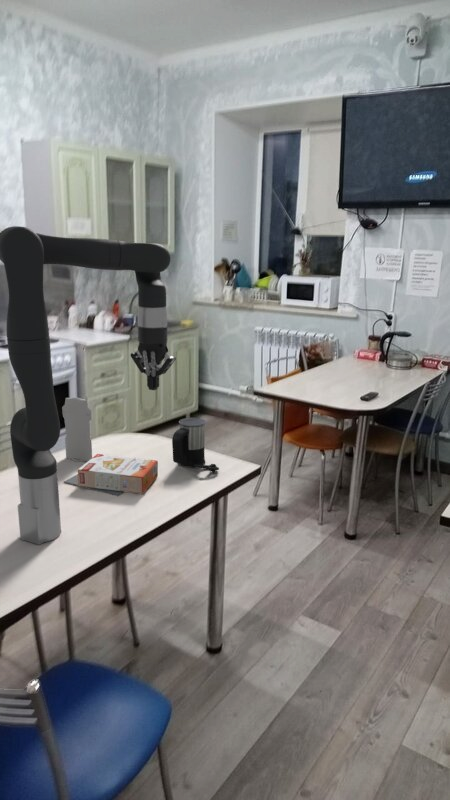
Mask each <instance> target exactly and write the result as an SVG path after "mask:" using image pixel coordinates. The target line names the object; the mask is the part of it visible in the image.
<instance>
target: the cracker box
mask: <svg viewBox="0 0 450 800" xmlns="http://www.w3.org/2000/svg"><path fill="white" fill-rule="evenodd" d="M158 462H159V460H157V459H146V458H136V457H130V456H121V455H120V456H119V455H110V454H103V453H102V454H101V453H96V454H95V455H94V456H92V459H90V460H89V461H88V462H86V463H85V462H84V464H83V465H81V466H80V467H78V469H77V474H78V486H77V487H79V486H83V487H90V488H99V489H107V490H115V491H123V493H125V492H126V493H133V494H141V495H143V494H144V493H145V492H146V490H148V489H149V487H150V486H151V485H152V484H153V483H154V481H156V479H157V478H158V477H159V473H158V470H159V469H158V467H159V466H158V465H159V463H158ZM83 487H82V488H83Z"/></svg>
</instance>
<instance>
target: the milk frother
mask: <svg viewBox="0 0 450 800" xmlns="http://www.w3.org/2000/svg"><path fill="white" fill-rule="evenodd" d="M178 423H179V429H177V430H175V432H174V433H173V435H172V437H171V438H172V440H171V445H172V446H171V448H172V461H173V463H176V464H178V465H180V466H181V467H182V466H183V467H186V468H199V469H204V470H208V471H209V472H211V471H212V473H215V472H216V471H219V470H220V468H219V467H218V466H217V464H215V463H211V464H209V465H207V464H206V459H205V445H206V444H205V442H206V441H205V440H206V438H205V437H206V436H205V435H206V434H205V433H206V424H207V421H206V420H205V419H203V418H198V417H186V418H181V419H180V420H179V421H178Z"/></svg>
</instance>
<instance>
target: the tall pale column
mask: <svg viewBox="0 0 450 800" xmlns="http://www.w3.org/2000/svg"><path fill="white" fill-rule="evenodd" d="M61 409H62V417H63V418H64V425H65V426H64V427H65V428H64V429H65V430H64V431H65V437H64V443H65V444H64V445H65V459H66V460H69V459H70V460H69V461H73V462H77V463H78V462H79V463H80V462H84V463H85V462H86V463H87V462H88V461H89V460H90V459H92V458H93V448H92V447H93V445H92V444H93V443H92V438H91V421H92V409H91V408H90V407H89V405H88V400H87V399H83V398H80V397H65V401H64V404H63V406H62V407H61Z"/></svg>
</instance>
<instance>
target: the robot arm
mask: <svg viewBox="0 0 450 800" xmlns="http://www.w3.org/2000/svg"><path fill="white" fill-rule="evenodd" d="M0 261H1V263H3V266H4V271H5V275H6V282H7V289H8V306H7V315H6V341H7V343H6V344H7V350H8V357H9V361H10V364H11V367H12V369H13V372H14V375H15V377H16V379H17V381H18V383H19V386H20V388H21V390H22V394H23V398H24V403H25V407H22V408H20V409H18V411H17V412H15V413H14V415H13V417H12V419H11V421H10V428H9V429H10V430H9V431H10V432H9V434H10V441H11V442H10V443H11V449H12V456H13V462H14V464H15V466H16V470H17V475H18V488H19V489H18V491H19V501H20V503H19V504H18V505H17V512H18V513H17V514H18V516H17V517H18V524H19V536H20V537H19V538H20V540H22V541H25V542H29V543H32V544H36V545H41V544H43V543H46V542H51V541H53V540H55V539H57V538H58V537H60V535H61V534H62V525H61V524H62V523H61V511H60V510H61V509H60V494H59V492H60V491H59V478H58V464H57V462H58V461H57V460H56V458H55V456H54V455H53V453H52V452H51V449H53V448H54V447H55V446H56V444H57V443H58V441H59V438H60V437H61V436H60V434H61V423H60V417H59V411H58V406H57V401H56V396H55V390H54V388H55V387H54V379H53V377H54V376H53V367H52V354H51V351H52V349H51V339H50V330H49V322H48V314H47V308H46V301H45V294H44V265H60V266H61V265H63V266H71V267H72V266H73V267H80V268H85V269H93V270H108V271H133V272H134V273H135V281H136V284H137V287H138V290H137V293H138V294H137V295H138V297H137V298H138V305H137V306H138V308H137V341H138V345H137V349H136V351H135V352H131V353H130V358H131V359H132V360H133V362H134V364H135V365H136V367H137V369H138V370H139V372H140V373H141V374H145V375H146V381H147V383H146V384H147V388H148V390H149V391H156V390H158V388H159V387H160V376H162V375H164V374H166V373H167V372H168V370H169V369H170V368H171V366H172V365H173V364H174V362H175V361H176V359H177V357H176V356H172V355H171V354H170V353H169V349H168V346H167V345H168V323H169V322H168V311H167V288H166V286H165V284H164V283H163V282H162V279H161V273H162V272H164V271H165V270H167V269H168V268H169V266H170V264H171V254H170V252H169V250H168V249H167V248H166V247H165V246H163V245H162V244H160V243H154V242H151V243H150V242H127V241H123V240H119V239H117V240H116V239H107V238H106V239H105V238H87V237H86V238H85V237H82V238H81V237H62V236H52V235H46V234H43V233H38V232H35V231H34V230H32V229H31V228H29V227H26V226H25V227H24V226H17V225H15V226H9V227H6V228H5V229H3V230H1V231H0ZM163 361H164V362H163Z"/></svg>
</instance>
